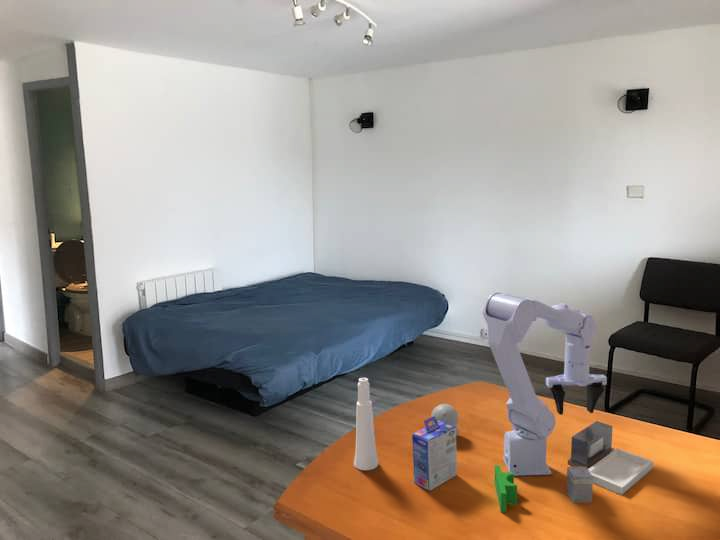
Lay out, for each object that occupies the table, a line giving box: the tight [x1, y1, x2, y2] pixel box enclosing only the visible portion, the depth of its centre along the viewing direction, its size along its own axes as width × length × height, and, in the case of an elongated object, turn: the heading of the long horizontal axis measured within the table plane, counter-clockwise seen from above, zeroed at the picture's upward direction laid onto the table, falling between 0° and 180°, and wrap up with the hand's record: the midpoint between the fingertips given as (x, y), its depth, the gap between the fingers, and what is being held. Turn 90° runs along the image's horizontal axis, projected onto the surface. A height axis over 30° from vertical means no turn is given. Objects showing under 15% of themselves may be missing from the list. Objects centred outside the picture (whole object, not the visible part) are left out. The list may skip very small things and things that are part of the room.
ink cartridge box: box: [411, 416, 458, 492], centre depth 129 cm, size 10×6×14 cm, turn 131°
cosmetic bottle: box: [353, 377, 379, 471], centre depth 135 cm, size 6×6×22 cm
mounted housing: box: [567, 420, 615, 469], centre depth 136 cm, size 13×5×7 cm, turn 130°
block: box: [565, 466, 594, 504], centre depth 121 cm, size 4×4×6 cm
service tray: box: [588, 447, 654, 496], centre depth 129 cm, size 16×9×2 cm, turn 130°
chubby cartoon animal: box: [430, 403, 460, 437], centre depth 152 cm, size 7×12×8 cm, turn 0°
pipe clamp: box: [493, 464, 518, 513], centre depth 122 cm, size 11×4×5 cm, turn 173°
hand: (574, 412), depth 140 cm, fingers open, 7 cm apart
